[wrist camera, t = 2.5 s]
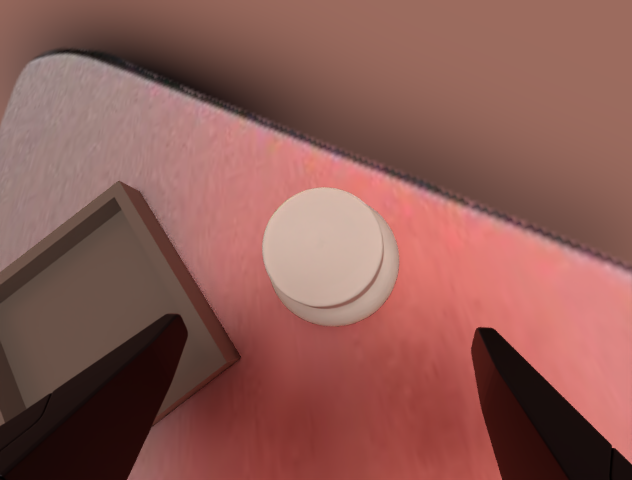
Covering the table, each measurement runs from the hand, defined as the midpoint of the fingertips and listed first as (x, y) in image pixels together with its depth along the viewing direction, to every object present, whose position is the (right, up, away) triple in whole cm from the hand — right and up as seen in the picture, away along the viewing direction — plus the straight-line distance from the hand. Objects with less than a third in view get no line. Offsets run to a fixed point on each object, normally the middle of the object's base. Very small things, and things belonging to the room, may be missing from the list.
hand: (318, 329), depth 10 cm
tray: (-14, -3, +12) cm, 19 cm away
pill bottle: (+2, 0, +10) cm, 10 cm away
